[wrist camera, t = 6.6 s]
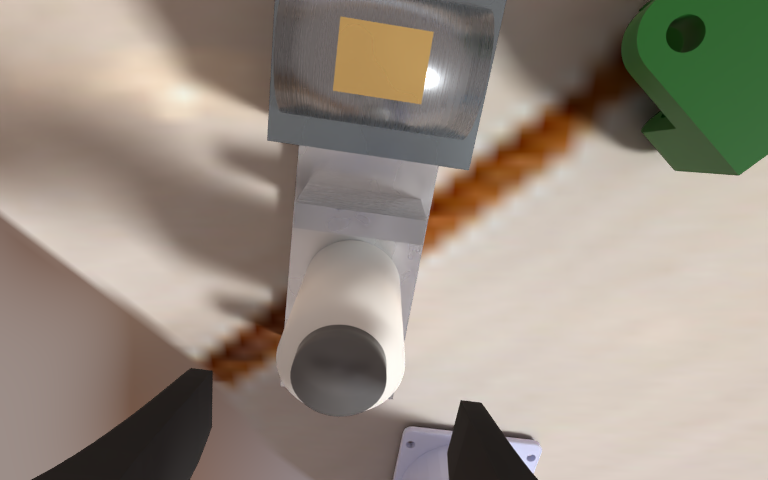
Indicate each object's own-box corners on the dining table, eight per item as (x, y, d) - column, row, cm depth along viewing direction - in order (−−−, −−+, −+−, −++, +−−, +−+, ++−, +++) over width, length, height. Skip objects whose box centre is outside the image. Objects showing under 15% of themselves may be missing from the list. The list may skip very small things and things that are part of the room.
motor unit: (409, 352, 23) (420, 466, 17) (276, 335, 23) (233, 445, 16) (481, -4, 17) (543, -48, 11) (303, -35, 17) (252, -100, 10)
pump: (418, 270, 21) (432, 361, 14) (368, 339, 22) (361, 448, 16) (334, 222, 20) (311, 296, 14) (288, 297, 21) (247, 396, 15)
